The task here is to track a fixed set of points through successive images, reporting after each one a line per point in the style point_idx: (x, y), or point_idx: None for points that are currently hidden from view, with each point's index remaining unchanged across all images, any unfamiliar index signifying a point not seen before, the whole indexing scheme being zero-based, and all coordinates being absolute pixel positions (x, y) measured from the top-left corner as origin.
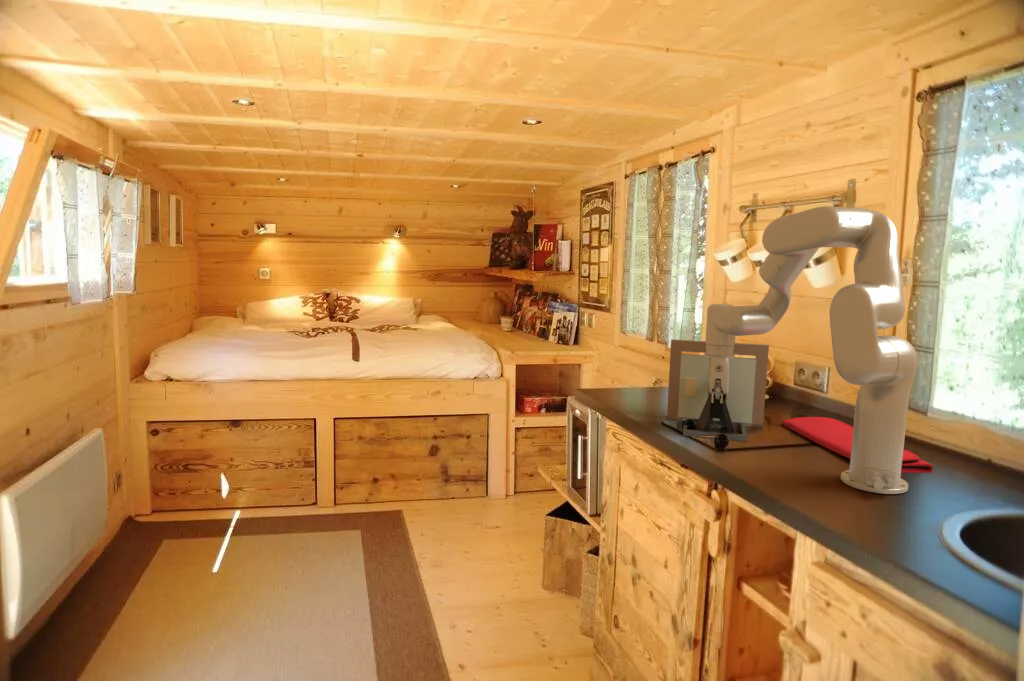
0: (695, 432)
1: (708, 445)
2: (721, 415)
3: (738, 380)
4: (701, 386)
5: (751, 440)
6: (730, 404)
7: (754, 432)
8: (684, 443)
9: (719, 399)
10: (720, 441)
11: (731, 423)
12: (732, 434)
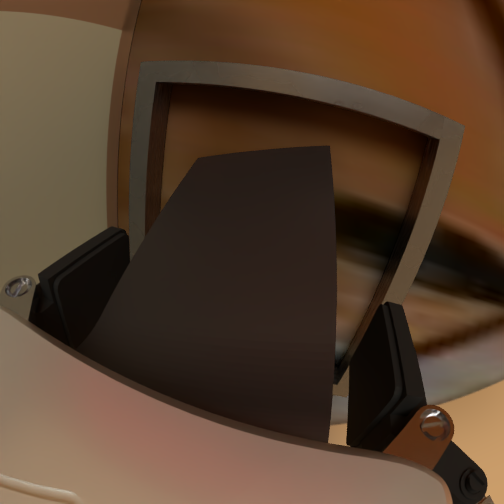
0: None
1: (481, 324)
2: (402, 322)
3: None
4: None
5: (423, 87)
6: (34, 155)
7: (238, 21)
8: (438, 387)
9: (471, 469)
10: (445, 264)
11: (332, 186)
12: (441, 208)
